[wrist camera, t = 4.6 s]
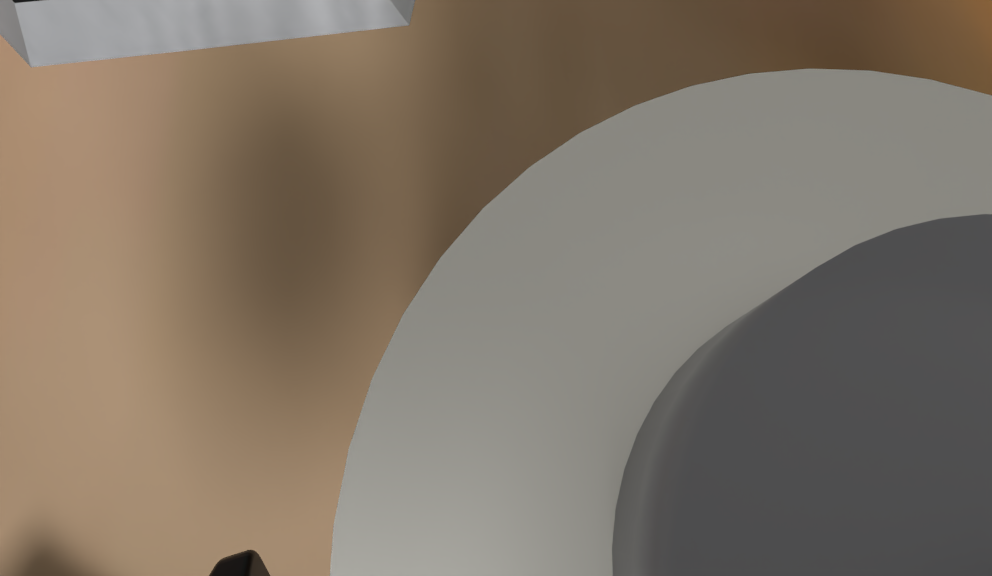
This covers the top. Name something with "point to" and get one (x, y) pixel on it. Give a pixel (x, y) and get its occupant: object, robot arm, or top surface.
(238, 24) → the white flat slab
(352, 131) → the top surface
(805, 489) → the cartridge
